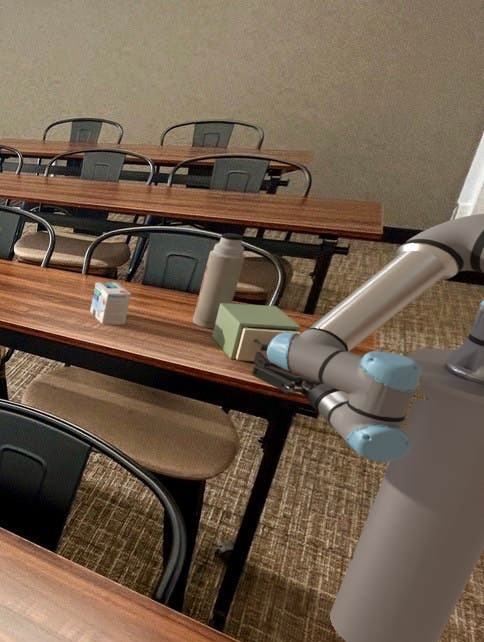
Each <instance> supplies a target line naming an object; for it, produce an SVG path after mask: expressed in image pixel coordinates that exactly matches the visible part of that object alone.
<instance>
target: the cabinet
mask: <svg viewBox="0 0 484 642" xmlns="http://www.w3.org/2000/svg"><path fill="white" fill-rule="evenodd" d="M243 326H251V327H266V328H281V329H292V330H293V331H295V332H300V333H301V330H302V329H301V328H302V326H300V324H298V323H297V322H296V321H294V320H293V319H292V318H291V317H289V316H288V315H287V314H286V313H285V312H284V311H282V310H281V309H280V308H279V307H277V306H276V305H262V304H261V305H260V304H243V303H232V304H228V303H220V306H219V310H218V314H217V319H216V323H215V327H214V329H213V331H212V336H211V337H212V339H213V340H214V341H215V342H216V343H217V344H218V346H219V347H220V348H221V349H222V350H223V352H224V353H225V355H227V356H228V358H229V359H230V360H237V359H236V355H237V354H236V350H237V346H238V343H239V339H240V335H241V331H242V327H243Z"/></svg>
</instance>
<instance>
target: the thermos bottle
mask: <svg viewBox="0 0 484 642" xmlns="http://www.w3.org/2000/svg"><path fill="white" fill-rule="evenodd" d="M243 239H244V235H242V234H238V233H232V232H226V233H225V232H224V233H222V234H221V238H220V239H219V242H217V243H215V245H214V246H213V250H210V252H209V255H208V259H207V261H206V267H205V271H204V274H203V277H202V282H201V285H200V290H199V294H198V298H197V301H196V306H195V308H194V309H195V310H194V313H193V317H192V323H193V324H195V325H197V326H199V327H202V328H206V329H212V330H214V327H215V323H216V319H217V314H218V310H219V306H220V303H228V304H233V299H234V297H235V294H236V291H237V287H238V283H239V280H240V276H241V272H242V269H243V265H244V262H245V258H246V255H245V254H244V252H245V247H244V246H243V245H242V242H243Z"/></svg>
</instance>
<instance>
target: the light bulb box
mask: <svg viewBox="0 0 484 642" xmlns="http://www.w3.org/2000/svg"><path fill="white" fill-rule="evenodd" d="M131 297H132V293H131V292H130V291H128V290H127V288H125V287H123V286H122V285H121V284H120V283H119V282H118V281H117V282H116V281H114V282H107V281H106V282H104V281H103V282H102V281H101V282H100V281H99V282H98V281H97V282H95V283H94V291H93V295H92V300H91V305H90V310H89V311H90V313H91V314H92V315H93V316H94V318H96V320H97V321H98V322H99V323H100V324H102V325H120V326H124V325H126V321H127V316H128V311H129V306H130V301H131Z"/></svg>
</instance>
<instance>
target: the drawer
mask: <svg viewBox="0 0 484 642" xmlns="http://www.w3.org/2000/svg"><path fill="white" fill-rule="evenodd" d="M284 332H291V333H297V334H298V335H300V334H302V333H301V331H300V332H295V331H293V330H292V329H281V328H266V327H251V326H243V327H242V331H241V335H240V339H239V343H238V346H237V350H236V354H237V355H236V359H235V360H237V361H247V362H254V359H255V355H256V352H261V353H262V354H263V355H264V356H265V358H266V359H267V360H268V361H269V359H268V356H267V348H268V346H269V344H270V342H271V341H272V339H273V338H274V337H275V336H277V335H278V334H280V333H284ZM269 362H270V361H269ZM270 363H271V364H273V363H272V362H270Z"/></svg>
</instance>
